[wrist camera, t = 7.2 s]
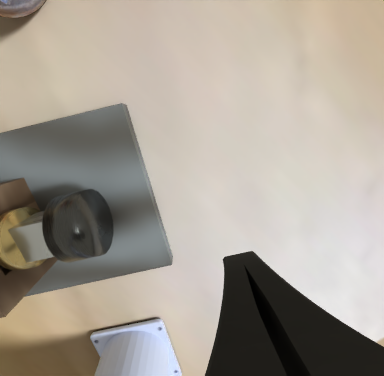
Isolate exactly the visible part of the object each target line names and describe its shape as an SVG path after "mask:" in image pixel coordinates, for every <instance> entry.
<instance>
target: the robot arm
mask: <svg viewBox="0 0 384 376" xmlns="http://www.w3.org/2000/svg"><path fill="white" fill-rule="evenodd" d="M223 263H224V289H223V299H222V306H221V312H220V318H219V323H218V328H217V333H216V337H215V341H214V345H213V349H212V353H211V356H210V360H209V364H208V367H207V371H206V374H205V376H384V347H383V346H381V345H379V344H378V343H376V342H374V341H372V340H371V339H369V338H367V337H365V336H364V335H362V334H361V333H359V332H357V331H356V330H354V329H352V328H351V327H349V326H348V325H346V324H344V323H343V322H341V321H340V320H338V319H337V318H335V317H334V316H332V315H331V314H329V313H328V312H326V311H325V310H323V309H322V308H320V307H319V306H318V305H316V304H315V303H313V302H312V301H311V300H309V299H308V298H307V297H305V296H304V295H303V294H301V293H300V292H299V291H297V290H296V289H295V288H294V287H292V286H291V285H290V284H289V283H287V282H286V281H285V280H284V279H283V278H281V277H280V276H279V275H278V274H277V273H276V272H274V271H273V270H272V269H271V268H270V267H269V266H268V265H267V264H266V263H265V262H263V261H262V260H261V259H260V258H259V257H258V256H257V255H256V254H255V253H254V252H253V251H250V252H245V253H240V254H236V255H231V256H227V257H224V259H223ZM90 339H91V341H92V343H93V344H94V346H95V348H96V350H97V352H98V354H99V356H100V361H99V363H98V366H97V369H96V372H95V375H94V376H182V372H181V369H180V367H179V364H178V361H177V358H176V356H175V353H174V350H173V347H172V345H171V342H170V339H169V337H168V334H167V331H166V328H165V326H164V323H163V321H162V320H161V319H155V320H150V321H145V322H140V323H135V324H130V325H126V326H121V327H116V328H111V329H106V330H101V331H97V332H93V333H92V334H91V337H90Z"/></svg>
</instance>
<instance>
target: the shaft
mask: <svg viewBox="0 0 384 376" xmlns="http://www.w3.org/2000/svg"><path fill="white" fill-rule="evenodd" d="M113 231H114V230H113V219H112V215H111V211H110V208H109V206H108V204H107V202H106V200H105V199H104V197H103V196H102V195H101V194H100V193H99V192H98V191H96V190H94V189H87V190H83V191H78V192H74V193H70V194H66V195H61V196H57V197H55V198H53V199H52V200H51V201H50V202H49V203H48V205H47V206H46V208H45V211H42V212H41V211H40V210H38V209H35V208H32V207H23V208H19V209H14V210H10V211H7V212H5V213H3V214H2V215H0V268H6V269H9V270H13V271H18V270H24V269H28V268H33V267H36V266H38V265H40V264H42V263H43V262H44V261H45V260H46V259H47V258H51V257H55V258H57V259H58V260H60V261H62V262H66V263H70V262H75V261H80V260H84V259H89V258H93V257H98V256H102V255H104V254H106V253H107V252H108V250H109V249H110V247H111V244H112V241H113Z"/></svg>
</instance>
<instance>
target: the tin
mask: <svg viewBox="0 0 384 376" xmlns="http://www.w3.org/2000/svg"><path fill="white" fill-rule="evenodd" d="M45 1H46V0H0V16H2V17H8V18H18V17H24V16H27V15H29V14H31V13H33V12H35V11H36V10H38V9H39V8H40V7H41V6H42V5H43V4H44V2H45Z"/></svg>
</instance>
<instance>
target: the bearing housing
mask: <svg viewBox="0 0 384 376" xmlns="http://www.w3.org/2000/svg"><path fill="white" fill-rule="evenodd" d="M87 189H94V190H96V191H98V192H99V193H100V194H101V195H102V196H103V197H104V199H105V200H106V202H107V204H108V206H109V208H110V211H111V215H112V219H113V230H114V231H113V241H112V244H111V247H110V249H109V250H108V252H107V253H106V254H104V255H102V256H98V257H93V258H89V259H84V260H80V261H75V262H70V263H66V262H62V261H60V260H58V259H57V258H55V257H51V258H47V259H46V260H45V261H44V262H43V263H42V264H40V265H38V266H36V267H33V268H28V269H24V270H18V271H13V270H9V269H6V268H0V318H2V317H6V316H7V314H8V313H9V312H10V311H11V310H12V309H13V308H14V307H15V306H16V305H17V304H18V303H19V301H20V300H21V299H22V298H23V297H25V296H30V295H34V294H39V293H44V292H48V291H53V290H58V289H62V288H67V287H72V286H76V285H81V284H85V283H90V282H95V281H99V280H104V279H109V278H113V277H118V276H123V275H127V274H132V273H136V272H141V271H146V270H150V269H155V268H160V267H164V266H169V265H172V259H173V256H172V253H171V249H170V246H169V243H168V240H167V236H166V233H165V230H164V227H163V223H162V220H161V217H160V213H159V210H158V207H157V204H156V200H155V197H154V194H153V191H152V187H151V184H150V181H149V177H148V174H147V171H146V168H145V164H144V161H143V158H142V155H141V151H140V148H139V145H138V141H137V138H136V135H135V132H134V128H133V125H132V122H131V118H130V115H129V112H128V109H127V105H125V104H122V103H121V104H117V105H113V106H109V107H105V108H101V109H97V110H93V111H89V112H85V113H81V114H77V115H72V116H68V117H64V118H60V119H56V120H52V121H48V122H44V123H40V124H36V125H32V126H28V127H24V128H20V129H16V130H12V131H8V132H4V133H0V215H2V214H3V213H5V212H7V211H10V210H14V209H19V208H23V207H32V208H35V209H38V210H40V211H41V212H42V211H45V208H46V206H47V205H48V203H49V202H50V201H51V200H52V199H53V198H55V197H57V196H61V195H66V194H70V193H74V192H78V191H83V190H87Z"/></svg>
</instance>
